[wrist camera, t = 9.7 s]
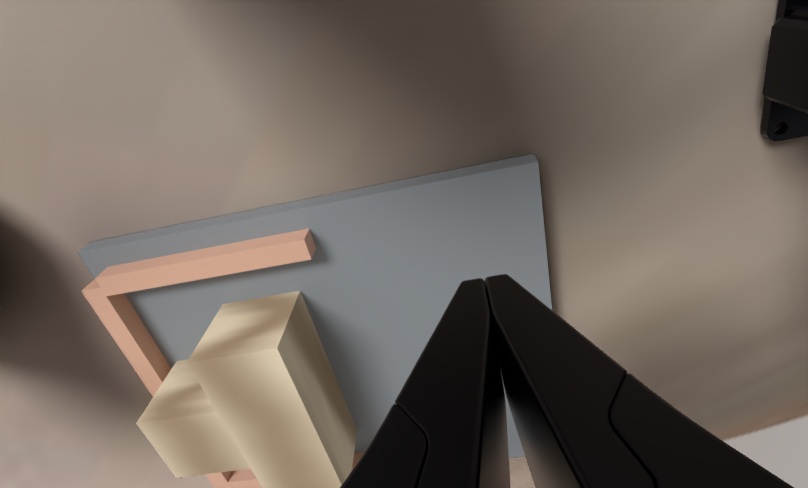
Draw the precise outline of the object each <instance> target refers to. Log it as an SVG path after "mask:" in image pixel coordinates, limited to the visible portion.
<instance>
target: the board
mask: <svg viewBox="0 0 808 488" xmlns="http://www.w3.org/2000/svg"><path fill="white" fill-rule="evenodd" d="M77 253H78V254H79V256H80V258H81V259H82V261H83V262H84V264H85V265H86V267H87V268H88V270H89V271H90V273H91V274H92V276H93V277H94V280H93V281H92V282H91V283H90V284H89V285H87V286H86V287H85V288H84V289H83V290H82V291H81V292H82V293H83V294H84V296H85V297H86V299H87V300H88V302H89V303H90V305H91V306H92V308H93V309H94V311H95V312H96V314H97V315H98V317H99V318H100V320H101V321H102V322H103V324H104V325H105V327H106V328H107V330H108V331H109V333H110V334H111V336H112V337H113V339H114V340H115V342H116V343H117V345H118V346H119V348H120V349H121V350H122V352H123V353H124V355H125V356H126V358H127V359H128V361H129V362H130V364H131V365H132V367H133V368H134V370H135V371H136V373H137V374H138V376H139V377H140V378H141V380H142V381H143V383H144V384H145V386H146V387H147V389H148V390H149V392H150V393H151V395H152V396H153V397H154V395H155V393H156V392H157V390H158V389H159V387H160V386H161V384H162V383H163V381H164V380H165V378H166V376H167V375H168V373H169V372H170V370H171V369H172V367H173V366H174V364H175V363H176V361H180V360H186V359H189V358H190V356H191V355H192V353H193V351H194V350H195V348H196V347H197V345H198V343H199V342H200V340H201V338H202V337H203V335H204V334H205V332H206V330H207V329H208V327H209V325H210V324H211V322H212V321H213V319H214V317H215V316H216V314H217V313H218V311H219V309H220V308H221V306H222V304H226V303H232V302H238V301H244V300H249V299H255V298H261V297H267V296H272V295H278V294H284V293H289V292H295V291H300V292H301V294H302V297H303V299H304V302H305V304H306V306H307V309H308V311H309V314H310V316H311V319H312V321H313V323H314V326H315V328H316V331H317V333H318V336H319V338H320V340H321V343H322V345H323V348H324V350H325V353H326V355H327V358H328V360H329V362H330V365H331V367H332V370H333V372H334V375H335V377H336V379H337V382H338V384H339V387H340V389H341V392H342V394H343V397H344V399H345V401H346V404H347V406H348V409H349V411H350V414H351V416H352V418H353V421H354V423H355V426H356V428H357V437H356V444H355V451H354V458H353V464H352V470H353V468H354V467H355V465H356V464H357V462H358V461H359V459H360V458H361V456H362V455H363V454H364V452H365V451H366V449H367V448H368V446H369V444H370V443H371V441H372V439H373V438H374V436H375V434H376V433H377V431H378V429H379V428H380V426H381V424H382V423H383V421H384V419H385V418H386V416H387V414H388V412H389V410H390V408H391V407H392V405H393V404H395V400H396V398H397V396H398V395H399V393H400V391H401V389H402V387H403V386H404V384H405V382H406V380H407V378H408V377H409V375H410V373H411V371H412V369H413V368H414V366H415V364H416V362H417V360H418V359H419V357H420V355H421V353H422V351H423V350H424V348H425V346H426V344H427V342H428V341H429V339H430V337H431V335H432V333H433V332H434V330H435V328H436V326H437V324H438V323H439V321H440V319H441V317H442V315H443V314H444V312H445V310H446V308H447V307H448V305H449V303H450V301H451V299H452V298H453V296H454V294H455V292H456V290H457V289H458V287H459V285H460V283H461V282H462V281H465V280H471V279H477V278H482V279H483V280H484V281H485V279H486V278H487V277H489V276H495V275H501V274H507V275H509V276H510V277H511V278H513V279H514V280H515V281H516V282H518V283H519V284H520V285H521V286H523V287H524V288H525V289H526V290H527V291H529V292H530V293H531V294H532V295H534V296H535V297H536V298H537V299H539V300H540V301H541V302H542V303H544V304H545V305H546V306H547V307H548V308H550V309H551V310H552V304H551V293H550V282H549V272H548V261H547V250H546V239H545V229H544V218H543V207H542V197H541V186H540V175H539V164H538V161H537V159H536V157H535V156H534V154H529V155H524V156H519V157H514V158H509V159H504V160H499V161H494V162H489V163H484V164H479V165H474V166H469V167H464V168H459V169H454V170H449V171H444V172H438V173H433V174H428V175H423V176H418V177H413V178H408V179H403V180H398V181H393V182H388V183H383V184H378V185H373V186H368V187H363V188H358V189H353V190H348V191H343V192H338V193H333V194H328V195H323V196H318V197H313V198H308V199H303V200H298V201H293V202H288V203H283V204H278V205H273V206H268V207H263V208H258V209H253V210H248V211H243V212H238V213H233V214H228V215H223V216H218V217H213V218H208V219H203V220H198V221H193V222H188V223H183V224H178V225H173V226H168V227H163V228H158V229H153V230H148V231H143V232H138V233H133V234H128V235H123V236H118V237H113V238H108V239H103V240H98V241H93V242H90V243H89V244H87V245H86V246H85V247H84V248H82V249H81V250H80V251H78V252H77ZM502 380H503V379H502ZM503 386H504V384H503ZM504 393H505V389H504ZM505 401H506V415H507V434H508V453H509V458H515V457H525V453H524V450H523V447H522V444H521V441H520V438H519V435H518V432H517V429H516V426H515V423H514V420H513V417H512V414H511V411H510V407H509V404H508V401H507V397H506V393H505ZM206 476H207V477H208V479H209V480H210V482H211V483H212V485H213V486H214V487H215V488H262V486H261V484H260V483H259V481H258V480H257V478H256V476H255V475H254V473H253V471H252V470H251V469H244V470H236V471H227V472H219V473H210V474H206Z"/></svg>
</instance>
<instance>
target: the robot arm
mask: <svg viewBox="0 0 808 488" xmlns="http://www.w3.org/2000/svg"><path fill="white" fill-rule="evenodd" d="M763 95H764V96H765V101H764V108H763V115H762V122H761V134H762V135H763V136H764V137H766V138H768V139H770V140H773V141H781V140H787V139H792V138H797V137H802V136H808V0H779V1H778V8H777V15H776V22H775V24H774V25H773V26H772V30H771V37H770V44H769V52H768V59H767V66H766V74H765V81H764V88H763ZM778 123H781V127H780V128H779V129H778V130H777V131H775V132H774V128H775V126H776V125H777V124H778ZM502 379H503V380H502ZM503 384H504V386H503ZM504 389H505V393H506V397H507V401H508V404H509V407H510V411H511V414H512V417H513V420H514V423H515V426H516V429H517V432H518V435H519V438H520V441H521V444H522V447H523V450H524V453H525V456H526V459H527V463H528V466H529V469H530V472H531V475H532V478H533V481H534V484H535V487H536V488H794V487H792V486H791V485H789V484H787V483H786V482H784V481H783V480H781V479H780V478H778V477H777V476H775V475H774V474H772V473H771V472H769V471H768V470H766V469H765V468H763V467H761V466H760V465H758V464H757V463H755V462H754V461H752V460H751V459H749V458H748V457H746V456H745V455H743V454H742V453H740V452H739V451H737V450H736V449H734V448H732V447H731V446H729V445H728V444H726V443H725V442H723V441H722V440H720V439H719V438H717V437H716V436H714V435H713V434H711V433H710V432H708V431H707V430H705V429H704V428H703V427H701V426H700V425H698V424H697V423H695V422H694V421H692V420H691V419H689V418H688V417H687V416H685V415H684V414H682V413H681V412H679V411H678V410H676V409H675V408H674V407H673V406H671V405H670V404H669V403H667V402H666V401H665V400H663V399H662V398H661V397H659V396H658V395H657V394H656V393H654V392H653V391H652V390H650V389H649V388H648V387H646V386H645V385H644V384H643V383H641V382H640V381H639V380H638V379H637V378H635V377H634V376H633V375H632V374H627V371H626V370H625V369H624V368H623V367H621V366H620V365H619V364H618V363H616V362H615V361H614V360H613V359H612V358H610V357H609V356H608V355H607V354H605V353H604V352H603V351H602V350H600V349H599V348H598V347H597V346H595V345H594V344H593V343H592V342H591V341H589V340H588V339H587V338H586V337H584V336H583V335H582V334H581V333H579V332H578V331H577V330H576V329H574V328H573V327H572V326H571V325H570V324H568V323H567V322H566V321H565V320H563V319H562V318H561V317H560V316H558V315H557V314H556V313H555V312H553V311H552V310H551V309H550V308H548V307H547V306H546V305H545V304H544V303H542V302H541V301H540V300H539V299H537V298H536V297H535V296H534V295H532V294H531V293H530V292H529V291H527V290H526V289H525V288H524V287H523V286H521V285H520V284H519V283H518V282H516V281H515V280H514V279H513V278H511V277H510V276H509V275H507V274H501V275H495V276H489V277H487V278H486V279H485V281H484V280H483V279H482V278H477V279H471V280H465V281H462V282H461V283H460V285H459V287H458V289H457V290H456V292H455V294H454V296H453V298H452V299H451V301H450V303H449V305H448V307H447V308H446V310H445V312H444V314H443V315H442V317H441V319H440V321H439V323H438V324H437V326H436V328H435V330H434V332H433V333H432V335H431V337H430V339H429V341H428V342H427V344H426V346H425V348H424V350H423V351H422V353H421V355H420V357H419V359H418V360H417V362H416V364H415V366H414V368H413V369H412V371H411V373H410V375H409V377H408V378H407V380H406V382H405V384H404V386H403V387H402V389H401V391H400V393H399V395H398V396H397V398H396V400H395V404H393V405H392V407H391V408H390V410H389V412H388V414H387V416H386V418H385V419H384V421H383V423H382V424H381V426H380V428H379V429H378V431H377V433H376V434H375V436H374V438H373V439H372V441H371V443H370V444H369V446H368V448H367V449H366V451H365V452H364V454H363V455H362V456H361V458H360V459H359V461H358V462H357V464H356V465H355V467H354V468H353V470H352V471H351V473H350V474H349V475H348V477H347V478H346V480H345V481H344V482H343V484H342V485H341V487H340V488H510V472H509V453H508V434H507V415H506V401H505V393H504Z"/></svg>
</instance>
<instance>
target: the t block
mask: <svg viewBox="0 0 808 488" xmlns="http://www.w3.org/2000/svg"><path fill="white" fill-rule="evenodd" d="M136 424H137V425H138V426H139V428H140V429H141V431H142V432H143V433H144V435H145V436H146V437H147V439H148V440H149V441H150V443H151V444H152V445H153V447H154V448H155V450H156V451H157V452H158V454H159V455H160V456H161V458H162V459H163V460H164V462H165V463H166V464H167V466H168V467H169V469H170V470H171V471H172V473H173V474H174V475H175V477H176V478H177V477H185V476H194V475H202V474H210V473H219V472H227V471H236V470H244V469H251V470H252V471H253V473H254V475H255V476H256V478H257V480H258V481H259V483H260V484H261V486H262V488H340V487H341V485H342V484H343V482H344V481H345V480H346V478H347V477H348V475H349V474H350V473H351V471H352V464H353V458H354V451H355V444H356V437H357V428H356V426H355V423H354V421H353V418H352V416H351V414H350V411H349V409H348V406H347V404H346V401H345V399H344V397H343V394H342V392H341V389H340V387H339V384H338V382H337V379H336V377H335V375H334V372H333V370H332V367H331V365H330V362H329V360H328V358H327V355H326V353H325V350H324V348H323V345H322V343H321V340H320V338H319V336H318V333H317V331H316V328H315V326H314V323H313V321H312V319H311V316H310V314H309V311H308V309H307V306H306V304H305V302H304V299H303V297H302V294H301V292H300V291H295V292H289V293H284V294H278V295H272V296H267V297H261V298H255V299H249V300H244V301H238V302H232V303H226V304H222V306H221V308H220V309H219V311H218V313H217V314H216V316H215V317H214V319H213V321H212V322H211V324H210V325H209V327H208V329H207V330H206V332H205V334H204V335H203V337H202V338H201V340H200V342H199V343H198V345H197V347H196V348H195V350H194V351H193V353H192V355H191V356H190V358H189V359H186V360H180V361H176V363H175V364H174V366H173V367H172V369H171V370H170V372H169V373H168V375H167V376H166V378H165V380H164V381H163V383H162V384H161V386H160V387H159V389H158V390H157V392H156V393H155V395H154V397H153V398H152V400H151V401H150V403H149V404H148V406H147V407H146V409H145V411H144V412H143V414H142V415H141V417H140V418H139V420H138V421H137V423H136Z"/></svg>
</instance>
